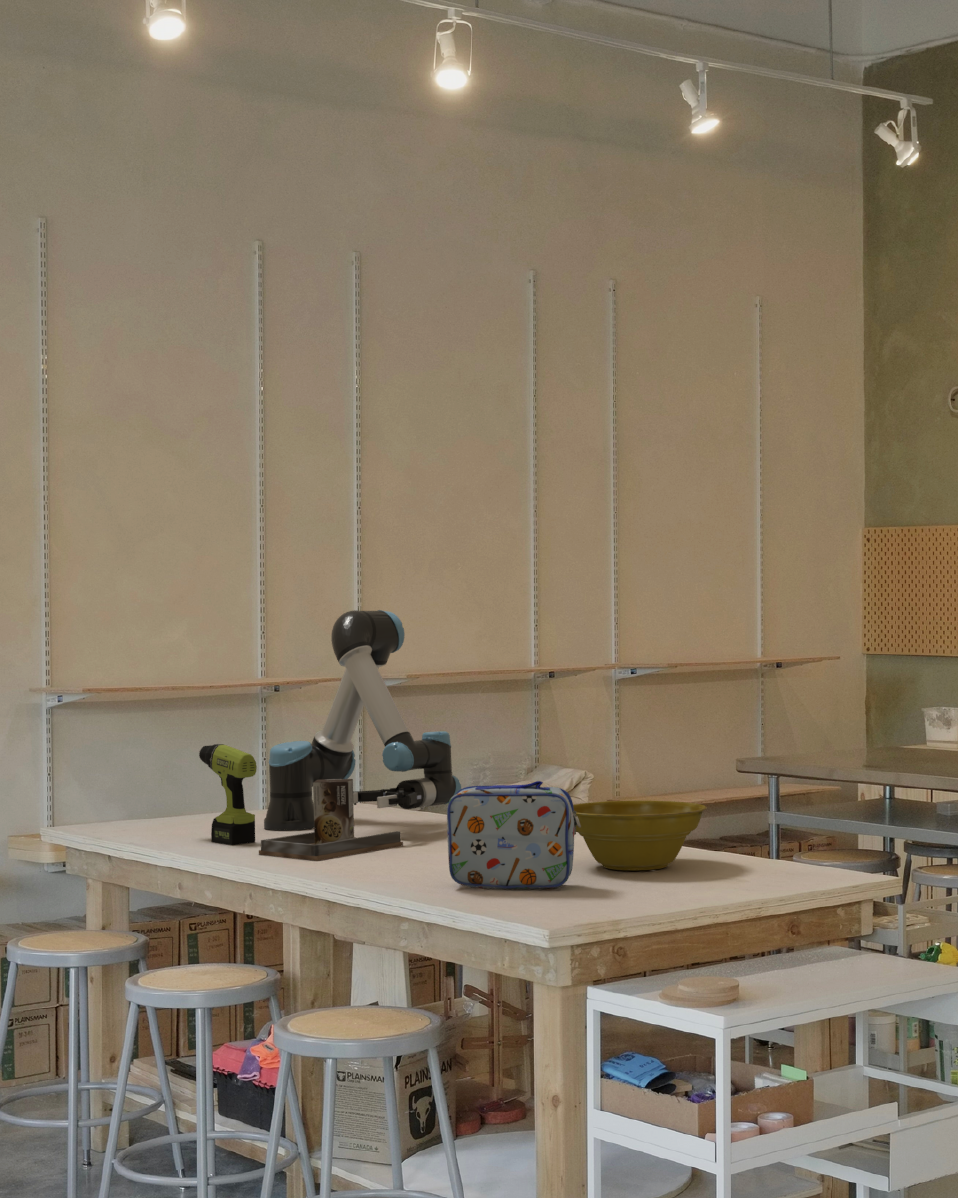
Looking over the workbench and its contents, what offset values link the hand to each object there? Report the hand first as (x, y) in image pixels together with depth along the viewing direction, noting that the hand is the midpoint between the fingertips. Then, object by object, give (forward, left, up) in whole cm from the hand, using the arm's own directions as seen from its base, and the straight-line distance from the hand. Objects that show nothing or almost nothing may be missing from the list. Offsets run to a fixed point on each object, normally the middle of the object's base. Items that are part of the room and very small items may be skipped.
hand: (358, 801), depth 383 cm
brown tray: (0, -10, -11) cm, 15 cm away
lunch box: (+72, -30, -11) cm, 79 cm away
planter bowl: (+78, +6, -11) cm, 79 cm away
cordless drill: (-37, -12, -11) cm, 40 cm away
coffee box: (0, -9, -10) cm, 13 cm away
